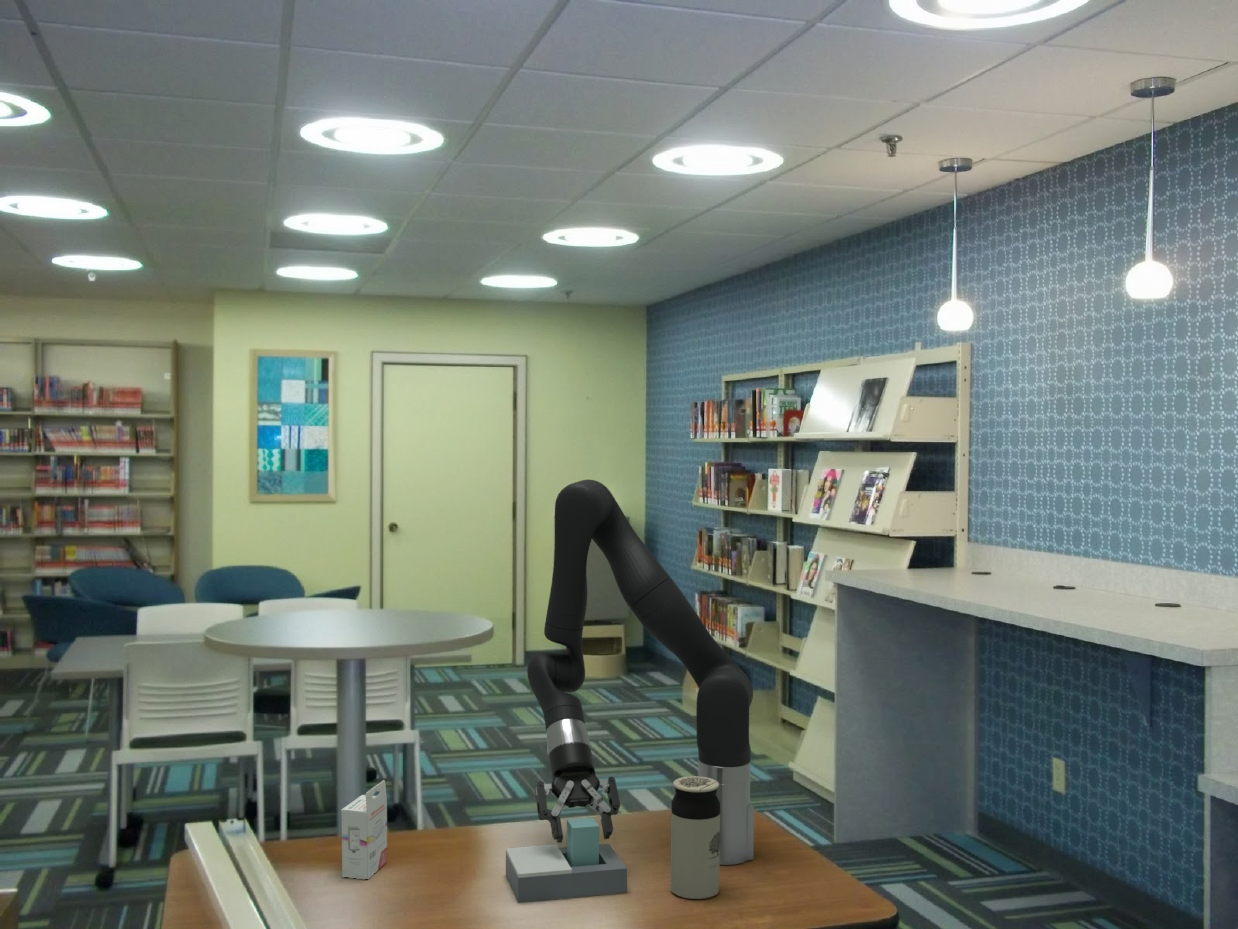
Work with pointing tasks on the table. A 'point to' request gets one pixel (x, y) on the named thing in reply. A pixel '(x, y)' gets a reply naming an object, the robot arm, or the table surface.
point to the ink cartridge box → (365, 834)
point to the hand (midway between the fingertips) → (584, 838)
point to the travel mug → (695, 838)
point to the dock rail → (562, 874)
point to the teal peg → (582, 842)
